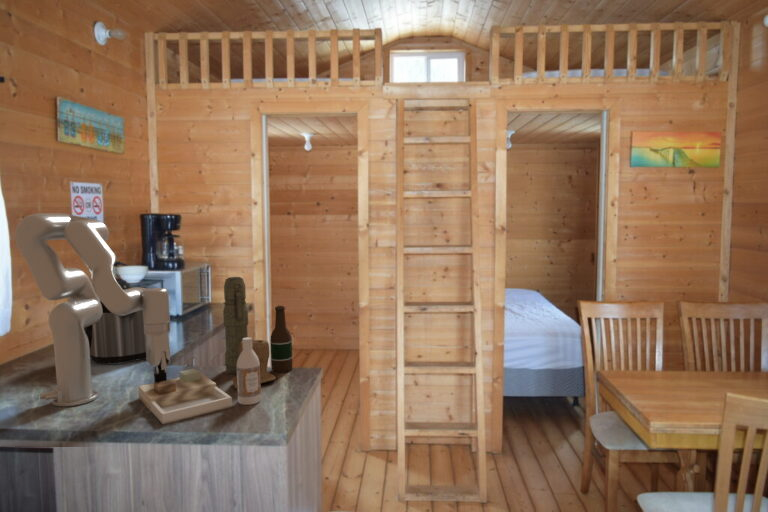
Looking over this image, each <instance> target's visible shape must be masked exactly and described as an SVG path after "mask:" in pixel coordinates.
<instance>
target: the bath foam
mask: <svg viewBox="0 0 768 512" xmlns="http://www.w3.org/2000/svg"><path fill="white" fill-rule="evenodd" d="M252 340H253V338H252V337H249V336H248V337H247V338H243V339H242V344H243V351H242V352H241V354H240V356H239V358H238V360H237V374H236V376H237V388H236V390H237V403H239V404H240V405H243V406H249V405H255V404H258V403H260V401H261V399H262V391H261V390H262V388H261V387H262V386H261V384H260V363H259V359H258V357H257V355H256V353H255V352H254V351H253V349H252Z"/></svg>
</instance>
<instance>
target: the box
mask: <svg viewBox="0 0 768 512" xmlns="http://www.w3.org/2000/svg"><path fill="white" fill-rule="evenodd" d="M213 391H214V395H211V396H207V397H203V398H198V399H194V400H190V401H185V402H181V403H177V404H173V405H168V406H164V407H160V406H159V405H158V404H157V403H156V402H155V401H150V405H151V411H150V412H151V413H152V415H153V416H155V418H157V419H158V420H157V421H159V422H160V423H161V424H162V425H166V424H171V423H176V422H178V421H182V420H186V419H190V418H191V419H192V418H194V417H198V416H202V415H206V414H209V413H214V412H218V411H222V410H225V409H230V408H233V396H231V395H229V394H228V393H226V392H225V391H223V390H222V389H221V388H219V387H218V386H216V387H213Z"/></svg>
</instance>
